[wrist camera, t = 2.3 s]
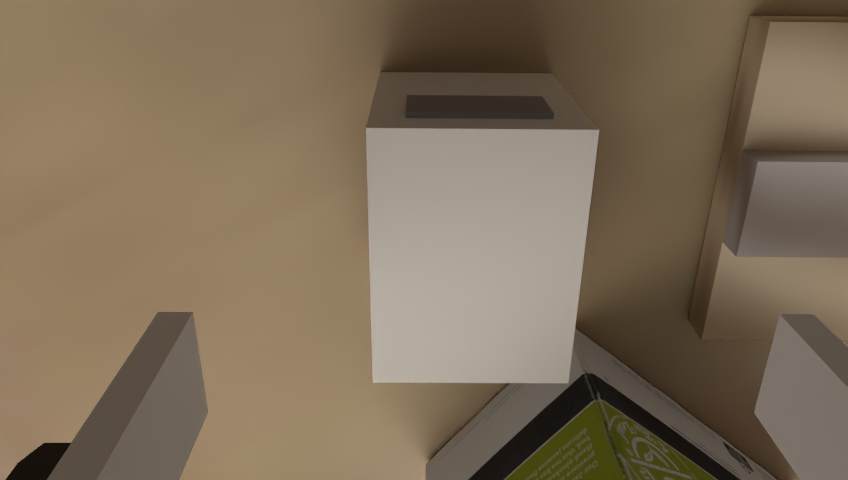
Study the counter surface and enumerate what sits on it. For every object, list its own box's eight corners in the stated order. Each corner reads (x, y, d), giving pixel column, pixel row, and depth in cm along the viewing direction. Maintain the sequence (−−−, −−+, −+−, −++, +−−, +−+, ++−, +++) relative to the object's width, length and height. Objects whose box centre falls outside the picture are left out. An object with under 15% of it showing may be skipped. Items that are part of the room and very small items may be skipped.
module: (379, 67, 24) (365, 122, 18) (552, 69, 24) (599, 124, 18) (383, 274, 27) (372, 382, 21) (534, 275, 27) (568, 383, 21)
